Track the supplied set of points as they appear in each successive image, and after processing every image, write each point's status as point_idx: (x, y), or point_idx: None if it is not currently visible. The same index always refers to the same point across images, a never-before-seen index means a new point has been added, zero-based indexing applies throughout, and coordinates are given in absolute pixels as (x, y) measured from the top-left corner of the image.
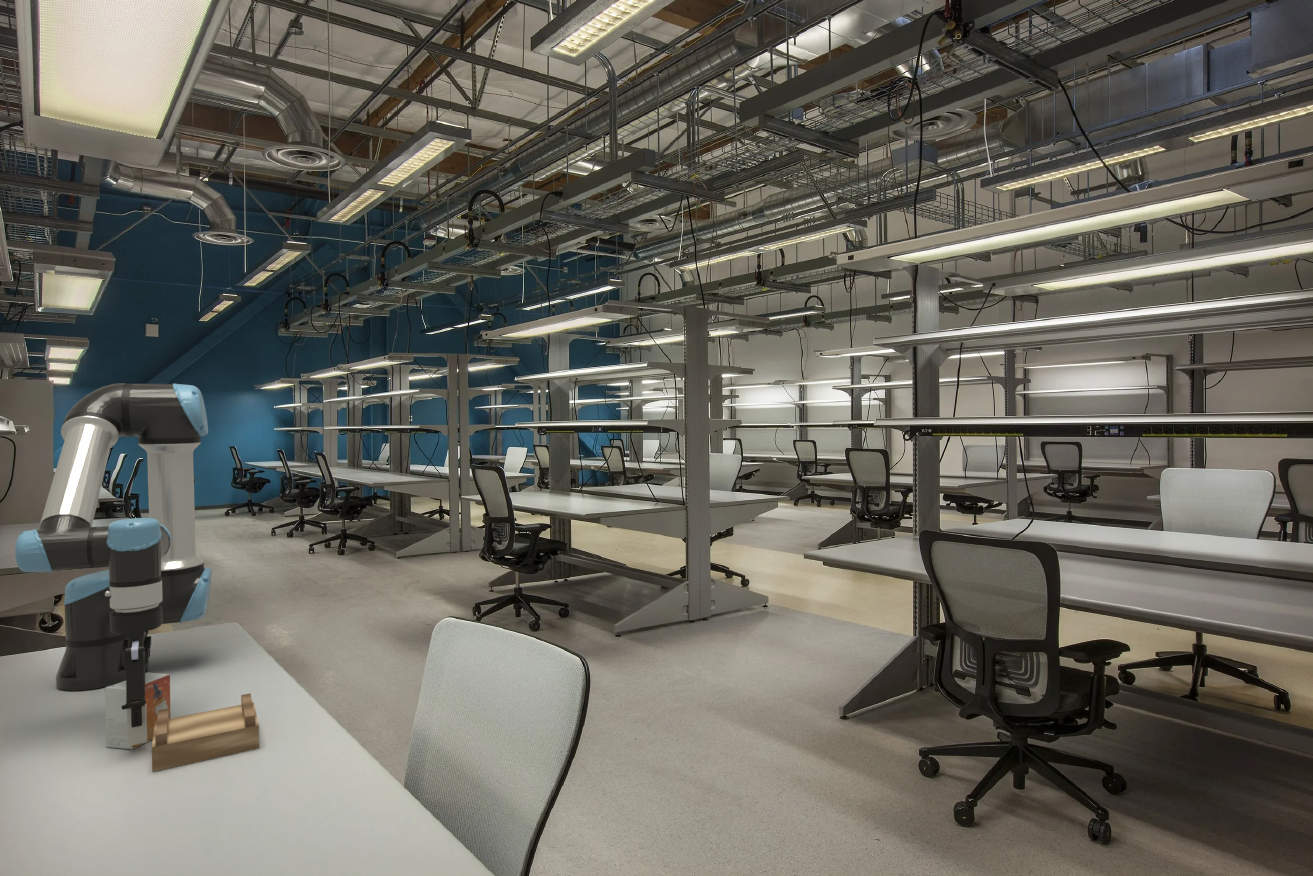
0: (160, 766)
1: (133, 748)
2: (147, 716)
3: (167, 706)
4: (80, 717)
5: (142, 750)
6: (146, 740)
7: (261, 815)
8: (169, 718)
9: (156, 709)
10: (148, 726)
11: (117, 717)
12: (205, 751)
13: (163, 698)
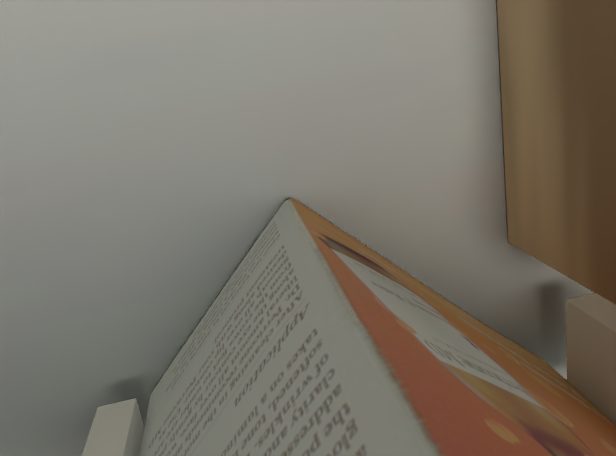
0: None
1: (539, 358)
2: (579, 418)
3: (379, 297)
4: None
5: (570, 297)
6: (610, 302)
7: None
8: (316, 234)
9: (521, 385)
10: (510, 355)
11: None
12: None
13: (484, 398)
